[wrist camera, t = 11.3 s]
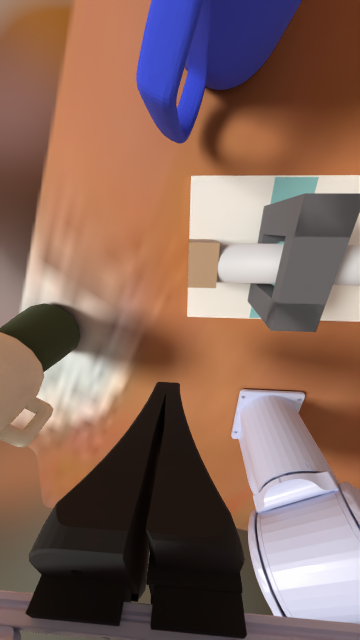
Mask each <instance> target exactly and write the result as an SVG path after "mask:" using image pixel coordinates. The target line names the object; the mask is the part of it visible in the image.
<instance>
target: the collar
mask: <svg viewBox="0 0 360 640" xmlns="http://www.w3.org/2000/svg"><path fill="white" fill-rule="evenodd" d="M359 213H360V193H305V194H301V195H298V196H295V197H292V198H289V199H285V200H282V201H279V202H276V203H273V204H270V205H266V206H264V209H263V215H262V220H261V226H260V232H259V238H258V243H257V244H277V243H279V242H284V246H283V251H282V255H281V259H280V264H279V268H278V272H277V277H276V281H275V285H274V286H273V285H272V284H265V283H251V284H250V289H249V295H248V302H249V304H250V305H251V306H252V307H253V309H254V310H255V311H256V312H257V314H258V315H259V316H260V317H261V319H262V320H263V321H264V323H265V324H266V325H267V326H268V328H269V329H270V330H272V331H303V332H316V330H317V327H318V324H319V322H320V319H321V316H322V313H323V311H324V308H325V305H326V303H327V300H328V297H329V294H330V292H331V289H332V286H333V284H334V281H335V278H336V275H337V273H338V270H339V267H340V264H341V262H342V259H343V256H344V254H345V251H346V248H347V245H348V243H349V240H350V237H351V235H352V232H353V229H354V226H355V224H356V221H357V218H358V216H359Z"/></svg>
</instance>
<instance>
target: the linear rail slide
mask: <svg viewBox="0 0 360 640" xmlns="http://www.w3.org/2000/svg"><path fill="white" fill-rule="evenodd" d="M305 193H360V175H319V176H191V202H190V238H189V263H188V309H187V317H218V318H252V319H261V317H260V316H259V315H258V314H257V312H256V311H255V310H254V309H253V307H252V306H251V305H250V304H249V302H248V295H249V289H250V284H251V283H265V284H272V285H273V286H274V285H275V281H276V277H277V272H278V268H279V264H280V259H281V255H282V251H283V246H284V242H279V243H277V244H257V243H258V238H259V232H260V226H261V220H262V215H263V209H264V206H266V205H270V204H273V203H276V202H279V201H282V200H285V199H289V198H292V197H295V196H298V195H301V194H305ZM320 320H321V321H355V322H360V213H359V216H358V218H357V221H356V224H355V226H354V229H353V232H352V235H351V237H350V240H349V243H348V245H347V248H346V251H345V254H344V256H343V259H342V262H341V264H340V267H339V270H338V273H337V275H336V278H335V281H334V284H333V286H332V289H331V292H330V294H329V297H328V300H327V303H326V305H325V308H324V311H323V313H322V316H321V319H320Z"/></svg>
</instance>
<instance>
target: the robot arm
mask: <svg viewBox="0 0 360 640" xmlns="http://www.w3.org/2000/svg"><path fill="white" fill-rule="evenodd" d="M304 398H305V395H304V393H303V392H293V391H271V390H248V389H243V390H241V391H240V393H239V398H238V403H237V408H236V413H235V418H234V423H233V428H232V433H231V435H232V438H234V439H239V442H240V446H241V451H242V455H243V459H244V464H245V468H246V472H247V477H248V481H249V484H250V487H251V490H252V492H253V494H254V495H253V499H254V503H255V507H256V509H254V510H253V511H252V512H251V514H250V518H249V528H248V540H249V548H250V554H251V559H252V563H253V567H254V570H255V574H256V577H257V580H258V582H259V585H260V588H261V590H262V593H263V595H264V597H265V599H266V601H267V603H268V605H269V606H270V608H271V610H272V612H273V614H274V616H270V615H260V614H249V613H244V610H243V602H242V595H241V593H242V583H241V577H240V571H241V568H242V566H243V564H244V553H243V549H242V545H241V542H240V538H239V535H238V532H237V530H236V527H235V524H234V521H233V519H232V516H231V513H230V512H229V510H228V508H227V506H226V505H225V503H224V501H223V500H222V498H221V496H220V494H219V492H218V491H217V489H216V487H215V485H214V483H213V481H212V479H211V478H210V475H209V473H208V471H207V469H206V467H205V465H204V463H203V461H202V459H201V457H200V455H199V452H198V450H197V448H196V445H195V443H194V440H193V438H192V435H191V432H190V430H189V427H188V424H187V421H186V417H185V414H184V410H183V406H182V402H181V396H180V384H179V383H169V382H158V383H156V386H155V388H154V390H153V392H152V394H151V396H150V397H149V399H148V401H147V403H146V404H145V406H144V407H143V409H142V411H141V412H140V414H139V415H138V417H137V418H136V419H135V421H134V422H133V424H132V425H131V427H130V428H129V429H128V431H127V432H126V433H125V434H124V436H123V437H122V438H121V439H120V441H119V442H118V443H117V444H116V445H115V446H114V447H113V449H112V450H111V451H110V452H109V453H108V454H107V455H106V456H105V458H104V459H103V460H102V461H101V462H100V463H99V464H98V465H97V466H96V467H95V468H94V469H93V470H92V471H91V472H90V473H89V474H88V475H87V476H86V477H85V478H84V479H83V480H82V481H81V482H80V483H78V484H77V485H76V486H75V487H74V488H73V489H72V490H71V491H70V492H68V493H67V494H66V495H65V496H64V497H63V498H62V499H61V500H60V501H58V502H57V504H56V505H55V507H54V508H53V510H52V512H51V513H50V515H49V517H48V519H47V520H46V522H45V524H44V525H43V527H42V529H41V531H40V534H39V535H38V537H37V540H36V542H35V543H34V545H33V548H32V550H31V552H30V553H29V561H30V563H31V564H32V565H33V566H34V567H35V568H36V569H37V570H38V571H39V572H40V573H41V574H42V576H41V578H40V581H39V583H38V585H37V587H36V590H35V592H34V593H24V592H14V591H3V590H0V640H21V634H20V631H25V632H35V633H45V634H54V635H64V636H74V637H84V638H94V639H104V640H360V489H358V488H356V487H354V486H352V485H351V484H350V483H348V482H344V483H340V482H339V481H338V480H337V478H336V477H335V475H334V473H333V471H332V470H331V468H330V466H329V465H328V463H327V461H326V459H325V458H324V456H323V454H322V453H321V451H320V449H319V448H318V446H317V444H316V442H315V441H314V439H313V437H312V436H311V434H310V432H309V430H308V429H307V427H306V425H305V424H304V422H303V420H302V419H301V417H300V415H299V410H300V408H301V405H302V403H303V400H304ZM149 550H150V556H149ZM148 556H149V557H148ZM148 558H149V564H148ZM147 568H148V572H147ZM146 578H147V580H146ZM146 584H147V585H149V588H150V593H151V604H141V603H131V601H134V602H138V599H139V598H140V597H141V595H142V594H143V592H144V591H145V587H146Z"/></svg>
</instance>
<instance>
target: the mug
mask: <svg viewBox="0 0 360 640" xmlns="http://www.w3.org/2000/svg"><path fill="white" fill-rule="evenodd" d="M301 2H302V0H152V1H151V6H150V10H149V14H148V18H147V22H146V27H145V31H144V36H143V41H142V46H141V51H140V56H139V62H138V69H137V86H138V90H139V92H140V95H141V97H142V99H143V101H144V103H145V105H146V107H147V109H148V111H149V113H150V115H151V117H152V119H153V120H154V122H155V124H156V126H157V127H158V128H159V130H160V131H161V132H162V133H163V134H164V135H165V136H166V137H167V138H169V139H170V140H172V141H174V142H176V143H184V142H185V141H186V140H187V139H188V137H189V135H190V133H191V131H192V128H193V126H194V123H195V120H196V118H197V115H198V112H199V109H200V105H201V102H202V98H203V94H204V90H205V87H208V88H211V89H215V90H226V89H230V88H234V87H236V86H238V85H240V84H242V83H243V82H245V81H246V80H248V79H249V78H250V77H251V76H253V75H254V74H255V73H256V72H257V71H258V70H259V69H260V68H261V66H262V65H263V64H264V63H265V62H266V60H267V59H268V58H269V56H270V55H271V53H272V52H273V50H274V49H275V47H276V45H277V44H278V42H279V40H280V38H281V37H282V35H283V33H284V31H285V30H286V28H287V26H288V24H289V23H290V21H291V19H292V17H293V16H294V14H295V12H296V10H297V9H298V7H299V5H300V3H301ZM184 67H185V69H186V70H187V71H188V74H187V79H186V82H185V86H184V89H183V93H182V96H181V99H180V102H179V105H178V108H177V107H176V98H177V93H178V88H179V85H180V81H181V77H182V74H183V70H184Z"/></svg>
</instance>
